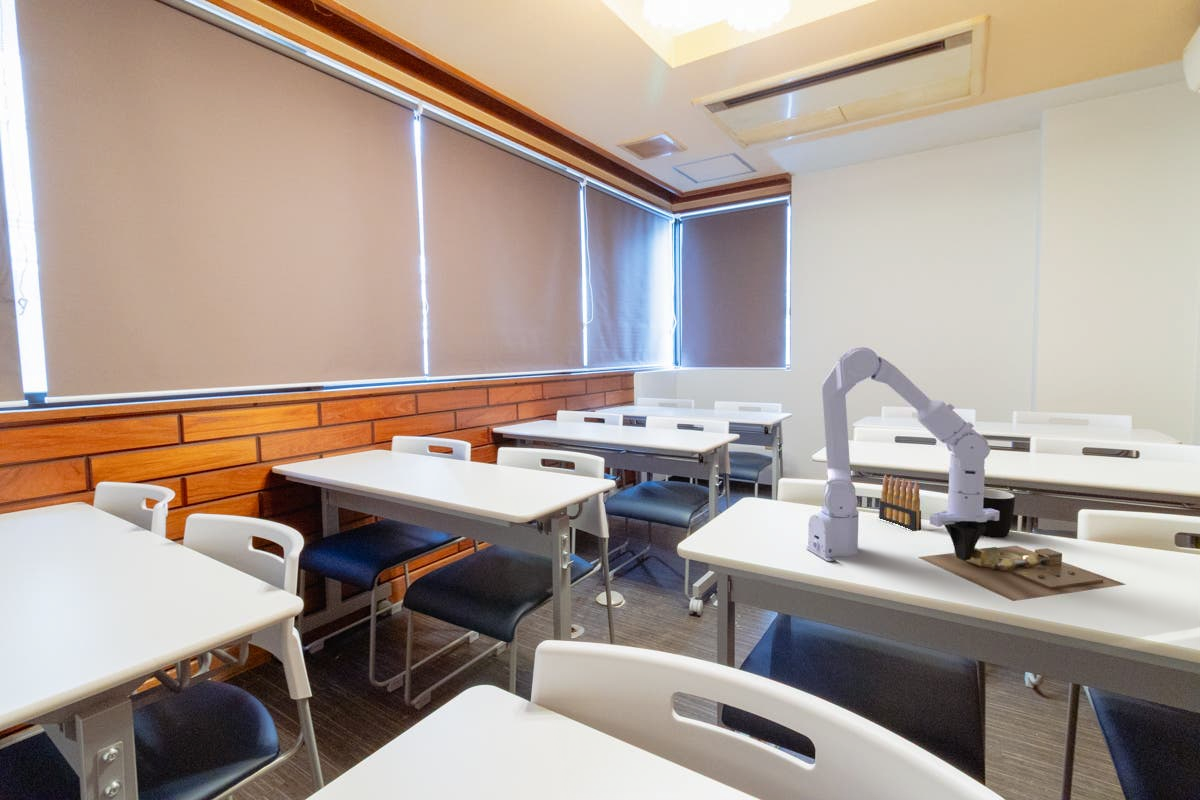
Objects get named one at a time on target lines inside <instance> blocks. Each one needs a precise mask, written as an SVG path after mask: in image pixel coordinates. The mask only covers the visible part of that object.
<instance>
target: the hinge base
mask: <svg viewBox="0 0 1200 800" xmlns="http://www.w3.org/2000/svg"><path fill="white" fill-rule="evenodd" d="M1034 552H1035V555H1037V556H1039V557H1044V556H1046V561H1044V562H1041V564H1046V567H1040V568H1032V569H1024V570H1017V571H1012V574H1013V575H1015V576H1017V577H1020V578H1022V579H1025V580H1027V581H1030V582H1032V583H1035V584H1037V585H1039V586H1042V587H1044V588H1047V589H1049V590H1055V589H1062V588H1069V587H1076V586H1083V585H1090V584H1097V583H1103V579H1101V578H1098V577H1096V576H1093V575H1090V574H1087V573H1084V572H1082V571H1079V570H1076V569H1073V568H1070V567H1068V566H1065V565H1062V562H1063V553H1062V552H1059V551H1057V550H1053V549H1051V548H1046V547H1044V548H1039V549H1034Z"/></svg>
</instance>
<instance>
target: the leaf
mask: <svg viewBox="0 0 1200 800" xmlns="http://www.w3.org/2000/svg"><path fill="white" fill-rule="evenodd" d="M953 553H954V556H956V553H955V549H954V552H953ZM966 561H969V562H971V563H973V564H976V565H978V566H980V567H983V566H985V567H990V568H992V569H998V570H1000V571H1003V570H1011V569H1014V568H1015V567H1016V566H1021V565H1022V566H1024V567H1034V566H1039V565H1040V564H1041V562H1044V561H1046V556H1044V557H1039V556H1037V555H1035V554H1031V555H1023V556H1019V555H1016V554H1013V553H1011V552H1008V551H1005V550H1002V549H1000V548H999V547H997V546H994V547H993V546H992V547H984V548H983V547H981V548H979V547H978V548H977V547H975V548H974V550H973V553H972V556H971V558H970V560H966Z"/></svg>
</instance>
